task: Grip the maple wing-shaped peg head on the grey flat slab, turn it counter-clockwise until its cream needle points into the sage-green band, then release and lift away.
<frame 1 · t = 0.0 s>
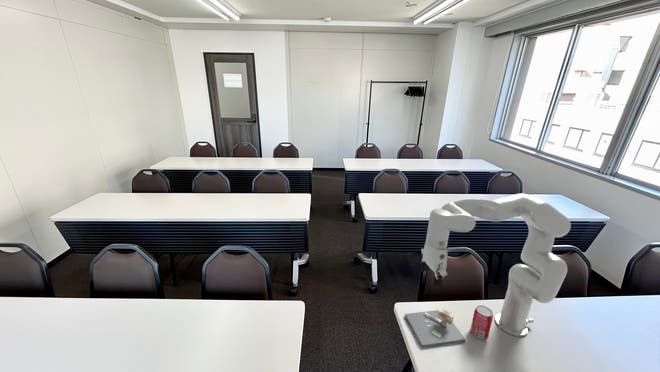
hand: (430, 278, 106), 31 cm above the table, tool pointing down, fingers open, 9 cm apart
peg: (438, 314, 121), point 5 cm above the table, hinge at -50.0°
soda can: (478, 333, 118), on the table
grey flat slab: (433, 328, 120), on the table
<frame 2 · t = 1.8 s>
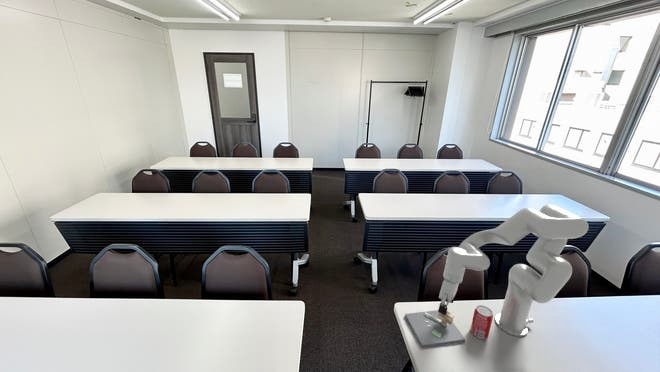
hand: (445, 307, 117), 12 cm above the table, tool pointing down, fingers open, 9 cm apart
nothing on the table moved.
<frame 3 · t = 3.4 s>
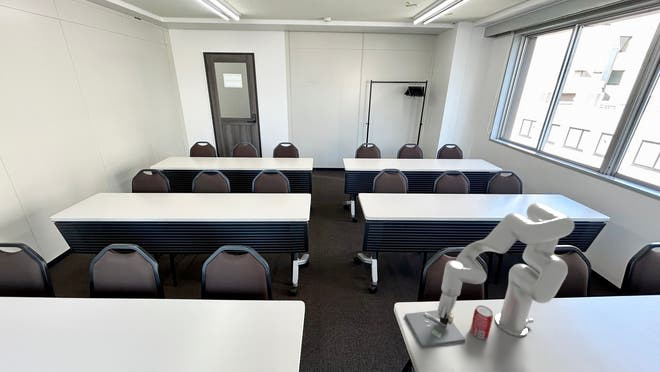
hand: (444, 320, 120), 4 cm above the table, tool pointing down, fingers closed on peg, 2 cm apart
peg: (438, 314, 121), point 5 cm above the table, hinge at -50.0°, touching gripper
everything else where it was.
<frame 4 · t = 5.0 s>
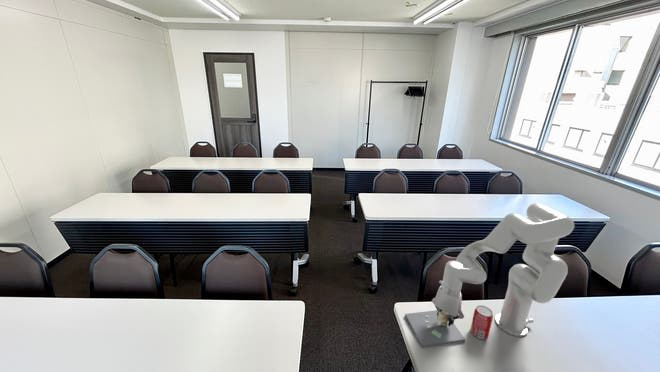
hand: (444, 320, 120), 4 cm above the table, tool pointing down, fingers closed on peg, 4 cm apart
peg: (439, 319, 119), point 5 cm above the table, hinge at 6.5°, touching gripper
everything else where it was.
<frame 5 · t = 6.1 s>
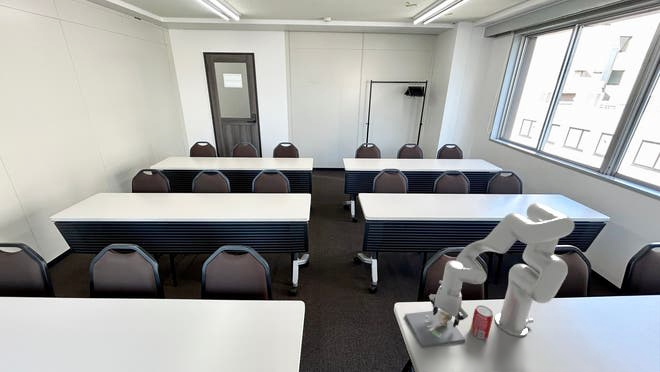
hand: (444, 319, 120), 5 cm above the table, tool pointing down, fingers open, 8 cm apart
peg: (440, 320, 118), point 5 cm above the table, hinge at 18.3°
everything else where it was.
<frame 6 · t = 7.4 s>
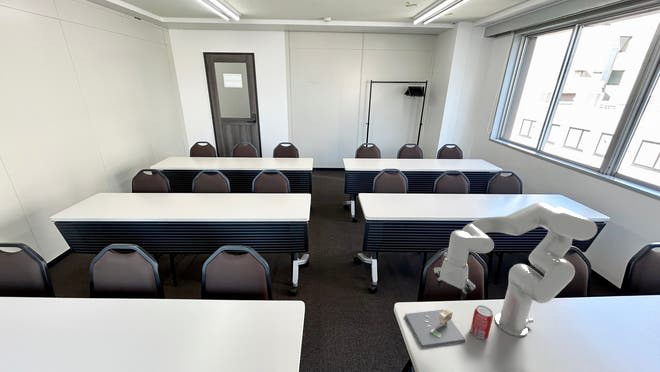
hand: (450, 292, 115), 19 cm above the table, tool pointing down, fingers open, 9 cm apart
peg: (440, 321, 118), point 5 cm above the table, hinge at 22.5°
everything else where it was.
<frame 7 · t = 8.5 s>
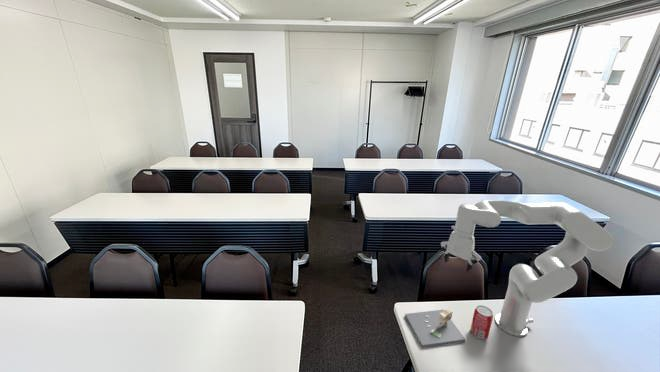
hand: (457, 265, 119), 28 cm above the table, tool pointing down, fingers open, 9 cm apart
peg: (440, 321, 118), point 5 cm above the table, hinge at 23.6°
everything else where it was.
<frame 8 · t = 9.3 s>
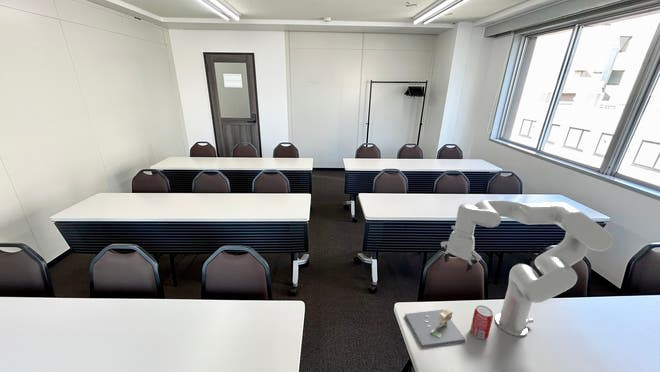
hand: (457, 265, 119), 28 cm above the table, tool pointing down, fingers open, 9 cm apart
nothing on the table moved.
at the end: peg at +24° (first picture: -50°); the gripper is holding nothing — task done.
